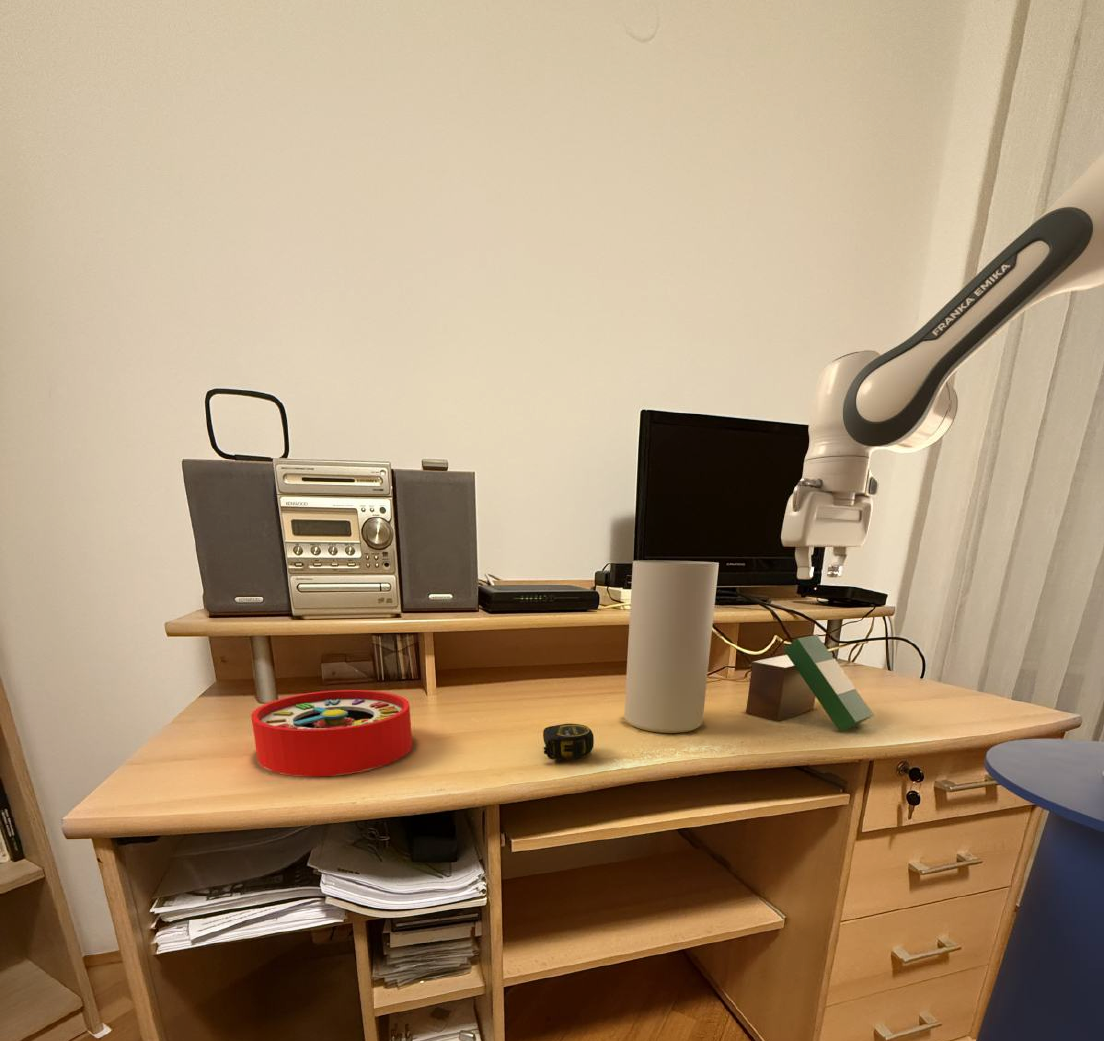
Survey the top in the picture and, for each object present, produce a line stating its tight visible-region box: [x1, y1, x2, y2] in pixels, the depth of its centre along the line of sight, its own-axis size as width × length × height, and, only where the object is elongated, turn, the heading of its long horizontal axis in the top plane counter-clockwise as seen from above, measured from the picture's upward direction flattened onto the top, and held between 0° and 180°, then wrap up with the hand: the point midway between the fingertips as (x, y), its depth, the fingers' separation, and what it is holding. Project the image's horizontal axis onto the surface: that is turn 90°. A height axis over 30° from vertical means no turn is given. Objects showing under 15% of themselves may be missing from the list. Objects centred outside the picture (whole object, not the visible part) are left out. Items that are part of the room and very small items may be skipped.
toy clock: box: [250, 689, 413, 778], centre depth 79 cm, size 20×6×20 cm
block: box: [745, 654, 816, 722], centre depth 100 cm, size 6×12×9 cm, turn 130°
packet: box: [783, 634, 875, 732], centre depth 94 cm, size 13×6×13 cm, turn 40°
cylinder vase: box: [623, 560, 720, 734], centre depth 90 cm, size 12×12×25 cm
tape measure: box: [542, 723, 595, 760], centre depth 79 cm, size 7×7×4 cm
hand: (819, 578), depth 91 cm, fingers open, 8 cm apart
